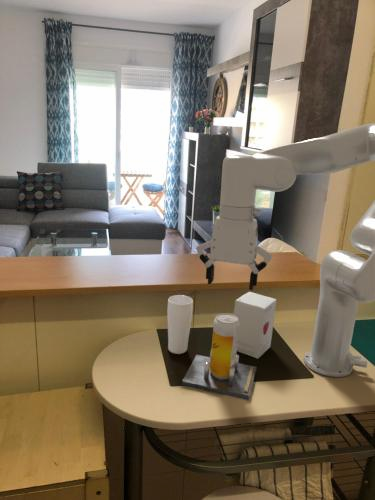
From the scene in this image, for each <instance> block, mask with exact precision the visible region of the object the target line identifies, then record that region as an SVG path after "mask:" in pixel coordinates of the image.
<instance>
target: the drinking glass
mask: <svg viewBox="0 0 375 500" xmlns="http://www.w3.org/2000/svg"><path fill="white" fill-rule="evenodd" d="M193 307H194V301H193V298H192V297H191V296H187V295H184V294H177V295H176V294H174V295H171V296H169V298H168V300H167V309H166V310H167V311H166V316H167V319H166V320H167V339H168V340H167V343H168V345H167V349H168V351H169V352H170V353H171V354H175V355H176V354H177V355H181V354H184V353H186V352H187V351H188V346H189V345H188V343H189V339H190V338H189V336H190V332H191V325H192V324H191V323H192V319H193V311H194V310H193Z"/></svg>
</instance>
